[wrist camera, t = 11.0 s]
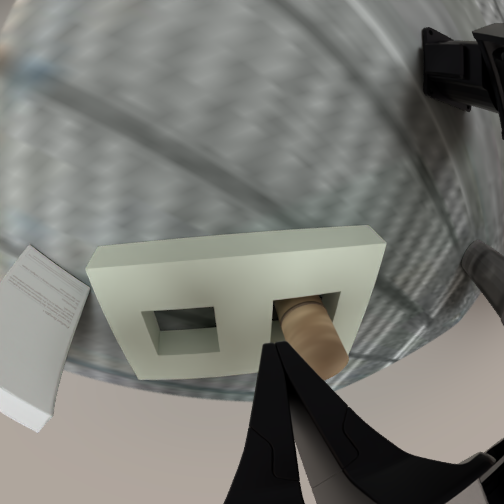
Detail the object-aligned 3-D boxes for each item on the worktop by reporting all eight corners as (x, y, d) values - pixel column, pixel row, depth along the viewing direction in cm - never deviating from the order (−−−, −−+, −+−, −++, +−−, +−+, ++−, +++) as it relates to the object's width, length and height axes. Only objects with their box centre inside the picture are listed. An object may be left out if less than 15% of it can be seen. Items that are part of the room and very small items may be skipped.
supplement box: (14, 289, 19) (-35, 389, 9) (30, 241, 17) (-45, 354, 7) (69, 328, 23) (38, 435, 12) (94, 288, 21) (53, 419, 10)
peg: (319, 276, 24) (355, 345, 17) (312, 309, 26) (342, 376, 19) (274, 281, 23) (299, 357, 17) (271, 315, 26) (292, 387, 19)
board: (368, 224, 22) (386, 243, 19) (338, 335, 29) (347, 355, 27) (97, 246, 19) (85, 268, 16) (141, 357, 26) (138, 379, 24)
